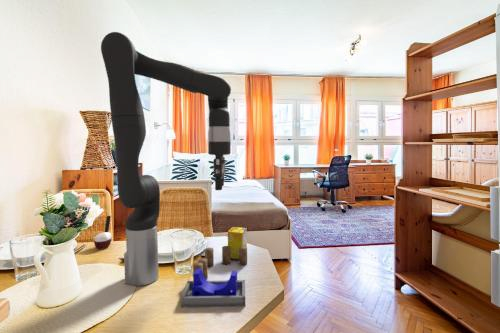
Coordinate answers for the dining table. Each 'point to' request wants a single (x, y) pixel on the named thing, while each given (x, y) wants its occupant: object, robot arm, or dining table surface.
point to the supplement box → (236, 241)
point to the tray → (213, 297)
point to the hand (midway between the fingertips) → (219, 187)
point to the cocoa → (103, 237)
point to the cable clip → (213, 286)
